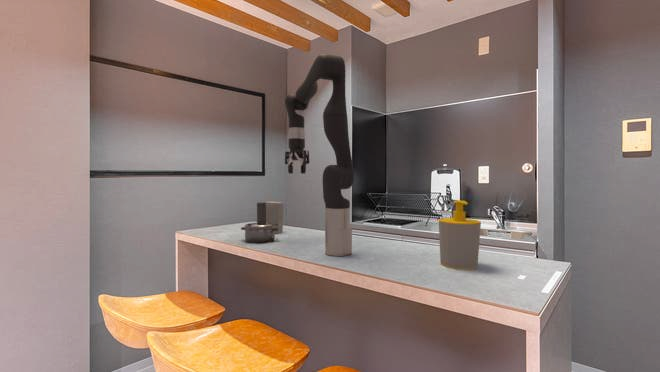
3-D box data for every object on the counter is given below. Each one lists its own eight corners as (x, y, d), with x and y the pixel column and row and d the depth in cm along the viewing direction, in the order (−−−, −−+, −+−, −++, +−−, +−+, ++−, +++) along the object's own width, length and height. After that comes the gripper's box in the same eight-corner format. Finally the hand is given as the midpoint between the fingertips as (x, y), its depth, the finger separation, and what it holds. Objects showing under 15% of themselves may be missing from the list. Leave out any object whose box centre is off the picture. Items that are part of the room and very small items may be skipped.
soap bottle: (453, 271, 105) (454, 202, 104) (430, 261, 118) (430, 199, 117) (489, 268, 109) (490, 201, 108) (462, 258, 121) (463, 198, 120)
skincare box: (262, 233, 172) (262, 202, 172) (269, 231, 179) (269, 201, 179) (278, 234, 170) (278, 202, 169) (284, 232, 177) (284, 201, 176)
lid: (276, 226, 155) (275, 202, 154) (259, 229, 148) (258, 203, 148) (263, 224, 161) (263, 201, 161) (247, 227, 154) (246, 202, 154)
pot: (283, 238, 158) (283, 223, 158) (272, 244, 146) (272, 227, 146) (248, 237, 162) (248, 222, 162) (235, 242, 150) (235, 226, 149)
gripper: (280, 138, 160) (280, 173, 161) (301, 136, 150) (301, 173, 151) (292, 139, 166) (292, 173, 166) (313, 137, 156) (313, 173, 156)
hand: (296, 173), depth 159 cm, fingers open, 8 cm apart
